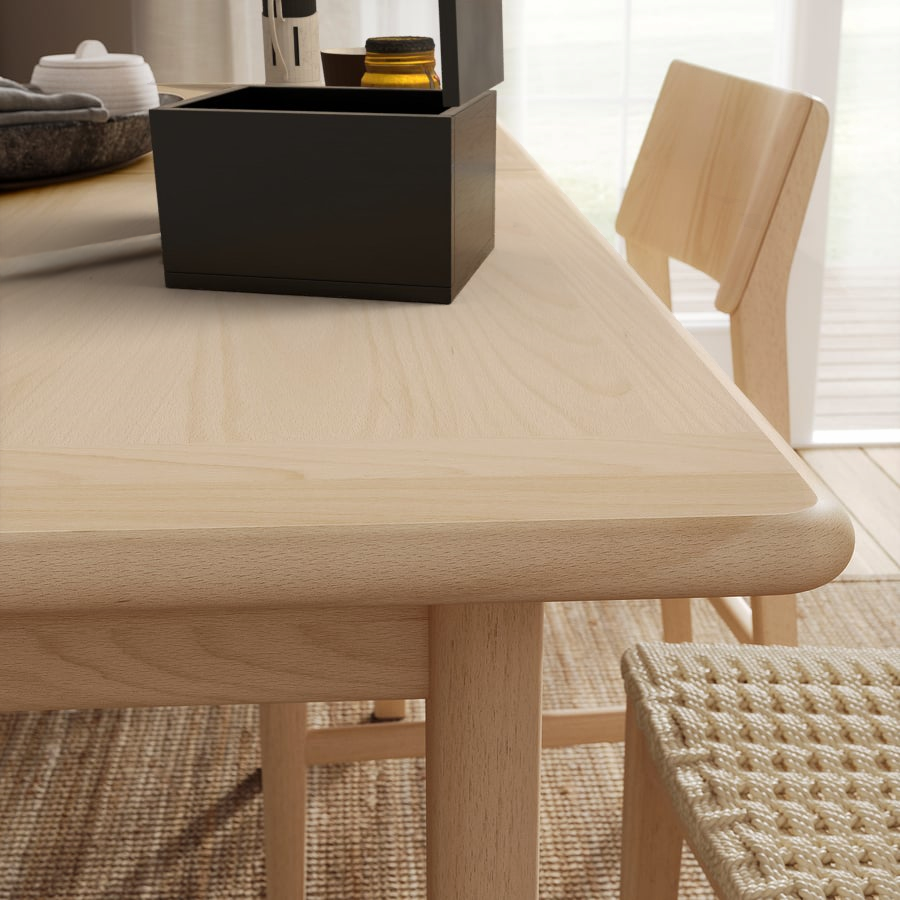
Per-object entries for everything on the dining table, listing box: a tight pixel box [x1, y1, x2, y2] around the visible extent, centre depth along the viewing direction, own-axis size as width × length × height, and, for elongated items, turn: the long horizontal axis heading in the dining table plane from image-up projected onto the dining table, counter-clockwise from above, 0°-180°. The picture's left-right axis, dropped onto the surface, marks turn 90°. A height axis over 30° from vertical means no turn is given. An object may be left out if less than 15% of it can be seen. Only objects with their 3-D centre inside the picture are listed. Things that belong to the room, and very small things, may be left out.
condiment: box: [361, 35, 442, 89], centre depth 90 cm, size 7×8×12 cm
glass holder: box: [261, 0, 324, 86], centre depth 162 cm, size 9×14×15 cm, turn 172°
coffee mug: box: [319, 46, 367, 87], centre depth 102 cm, size 12×9×10 cm
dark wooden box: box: [148, 84, 498, 305], centre depth 70 cm, size 17×14×10 cm
